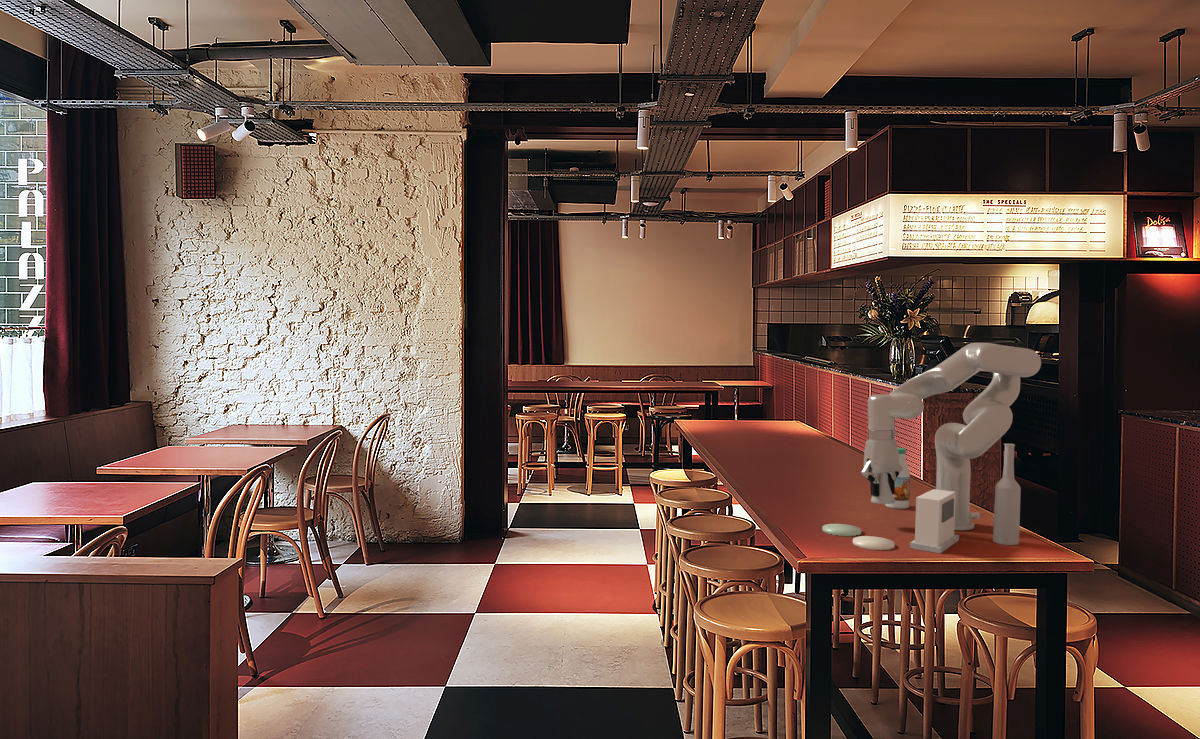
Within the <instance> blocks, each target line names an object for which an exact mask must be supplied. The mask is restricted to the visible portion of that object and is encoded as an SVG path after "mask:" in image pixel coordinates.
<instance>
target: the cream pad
mask: <svg viewBox="0 0 1200 739" xmlns="http://www.w3.org/2000/svg"><path fill="white" fill-rule="evenodd" d="M852 544H853V545H854V546H855V547H857V546H858V548H862V549H864V550H871V551H872V550H873V551H887V550H888V551H889V550H890V551H891V550H892V549H894V548H895V542H894V541H893V540H892V539H889V538H885V537H880V536H871V535H870V536H869V535H861V536H860V535H858V536H854V537H853V538H852Z"/></svg>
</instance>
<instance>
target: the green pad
mask: <svg viewBox="0 0 1200 739" xmlns="http://www.w3.org/2000/svg"><path fill="white" fill-rule="evenodd" d="M821 529H822V532H823V533H825V534H829V535H831V534H832V536H836V535H838V536H839V537H857V536H856V535H858V536H860V535H862V528H860V527H858V526H856V525H852V524H844V523H828V524H824V525H823V526H822V528H821Z"/></svg>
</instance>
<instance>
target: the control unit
mask: <svg viewBox="0 0 1200 739" xmlns="http://www.w3.org/2000/svg"><path fill="white" fill-rule="evenodd" d="M955 501H956V492H954V491H946V490H939V489H936V488H933V489H931V490H928V491H925V493H923V494H921V495H919V496H916V497H915V522H914V523H915V525H914V526H915V527H914V530H915V531H914V539H913V540H912V541H910V542H909V549H913V550H918V551H924V552H929V553H935V554H942V553H943V552H945V551H946V550H947V549H949V548H950V547H951V546H953V545H955V544H956V543H957V542H959V540H960V534H955V531H956V530H955Z"/></svg>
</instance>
